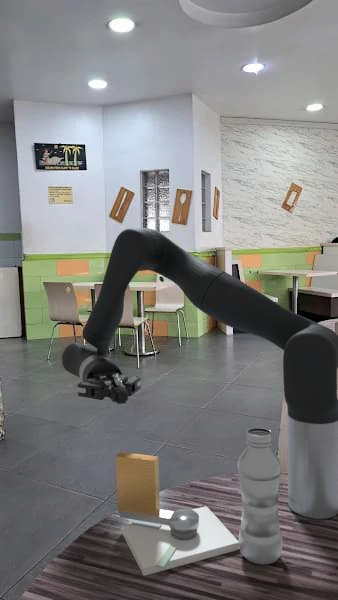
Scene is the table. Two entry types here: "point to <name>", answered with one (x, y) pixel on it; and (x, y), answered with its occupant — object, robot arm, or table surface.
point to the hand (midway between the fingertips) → (122, 398)
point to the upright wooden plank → (147, 494)
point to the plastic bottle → (259, 499)
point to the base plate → (177, 542)
